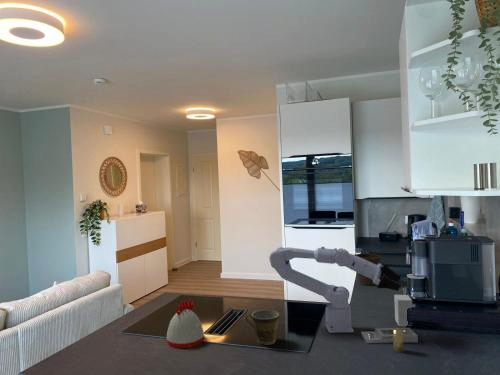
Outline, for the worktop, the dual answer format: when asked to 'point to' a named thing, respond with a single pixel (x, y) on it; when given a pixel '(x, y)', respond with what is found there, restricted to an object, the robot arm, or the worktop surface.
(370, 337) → the notched mounting plate
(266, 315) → the ceramic cup
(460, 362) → the worktop surface
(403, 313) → the small box
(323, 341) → the worktop surface
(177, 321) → the white red bobble hat
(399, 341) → the brass pin
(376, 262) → the plant pot
